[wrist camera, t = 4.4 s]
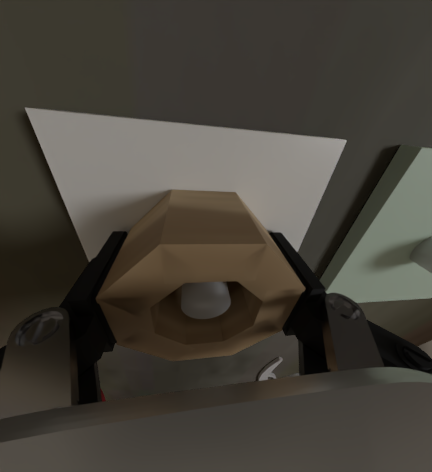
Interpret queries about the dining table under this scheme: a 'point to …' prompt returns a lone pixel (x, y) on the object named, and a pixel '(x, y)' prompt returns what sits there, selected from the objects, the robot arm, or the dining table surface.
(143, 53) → the dining table surface
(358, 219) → the plate
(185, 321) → the collar
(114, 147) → the stand
